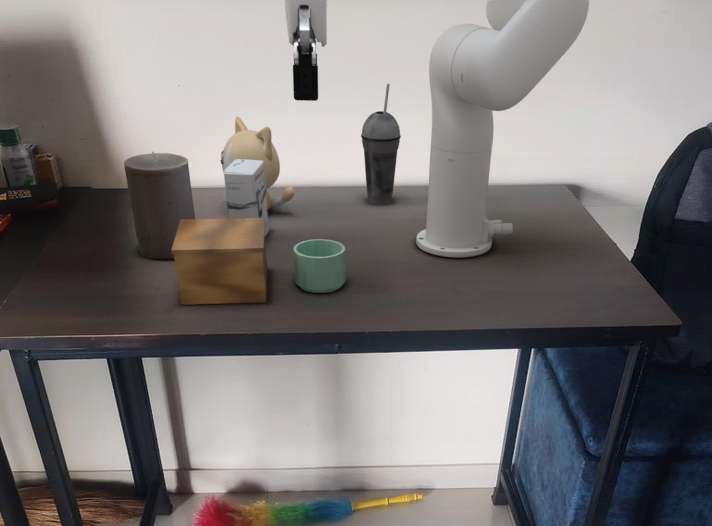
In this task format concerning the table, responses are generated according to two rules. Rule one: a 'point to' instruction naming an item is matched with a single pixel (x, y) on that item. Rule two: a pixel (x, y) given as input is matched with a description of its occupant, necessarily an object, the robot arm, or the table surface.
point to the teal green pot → (319, 265)
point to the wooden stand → (221, 260)
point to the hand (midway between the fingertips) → (306, 92)
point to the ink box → (246, 190)
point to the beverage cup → (380, 154)
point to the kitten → (256, 156)
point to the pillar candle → (158, 200)
